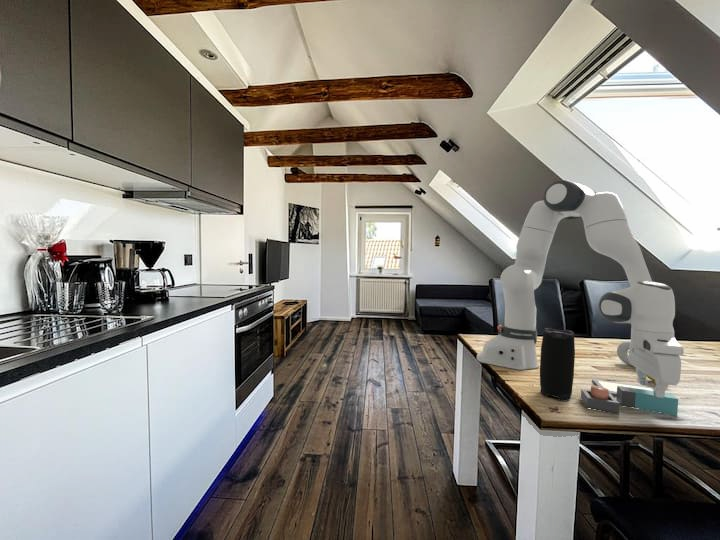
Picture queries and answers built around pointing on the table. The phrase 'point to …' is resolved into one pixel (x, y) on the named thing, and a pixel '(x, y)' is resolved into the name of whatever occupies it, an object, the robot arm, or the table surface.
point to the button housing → (600, 402)
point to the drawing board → (613, 385)
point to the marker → (647, 400)
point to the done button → (599, 392)
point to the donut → (624, 352)
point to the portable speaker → (557, 363)
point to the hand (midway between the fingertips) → (650, 390)
